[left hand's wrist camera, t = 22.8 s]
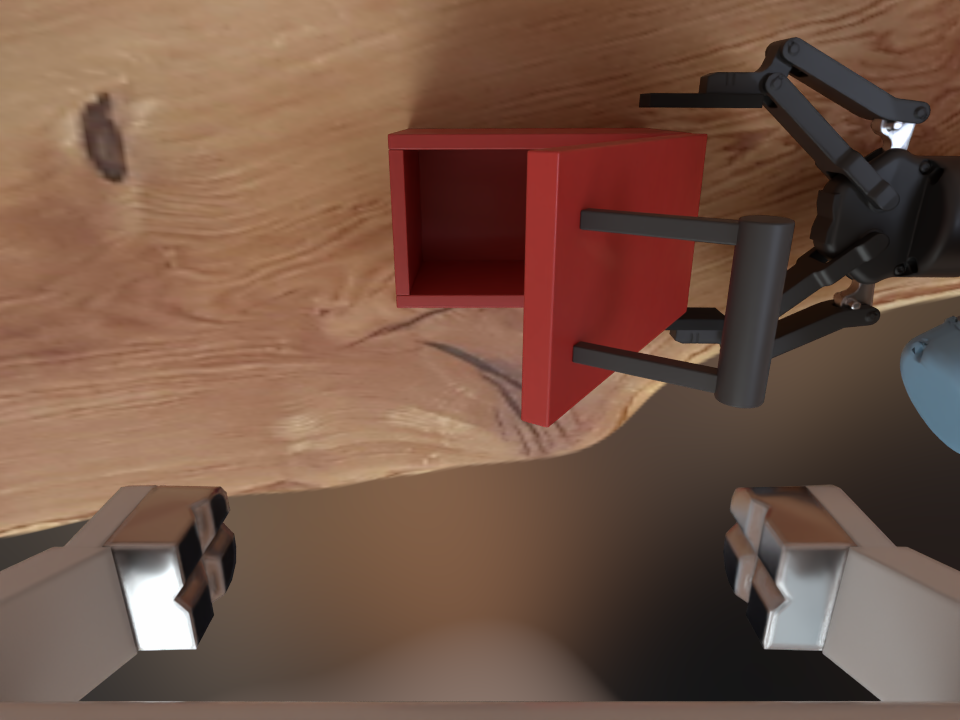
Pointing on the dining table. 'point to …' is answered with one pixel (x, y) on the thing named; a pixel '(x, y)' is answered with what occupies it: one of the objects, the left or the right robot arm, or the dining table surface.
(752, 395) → the lid
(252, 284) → the dining table surface
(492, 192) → the chest
